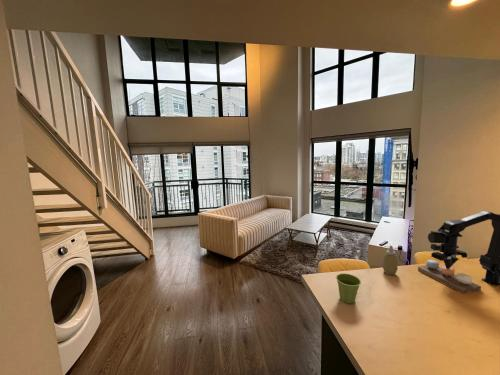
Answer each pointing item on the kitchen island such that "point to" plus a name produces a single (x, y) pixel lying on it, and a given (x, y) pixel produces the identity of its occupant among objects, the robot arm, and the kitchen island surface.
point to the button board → (449, 280)
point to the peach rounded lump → (447, 271)
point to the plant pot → (348, 287)
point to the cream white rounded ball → (464, 278)
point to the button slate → (432, 264)
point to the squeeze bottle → (390, 262)
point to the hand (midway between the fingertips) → (447, 268)
